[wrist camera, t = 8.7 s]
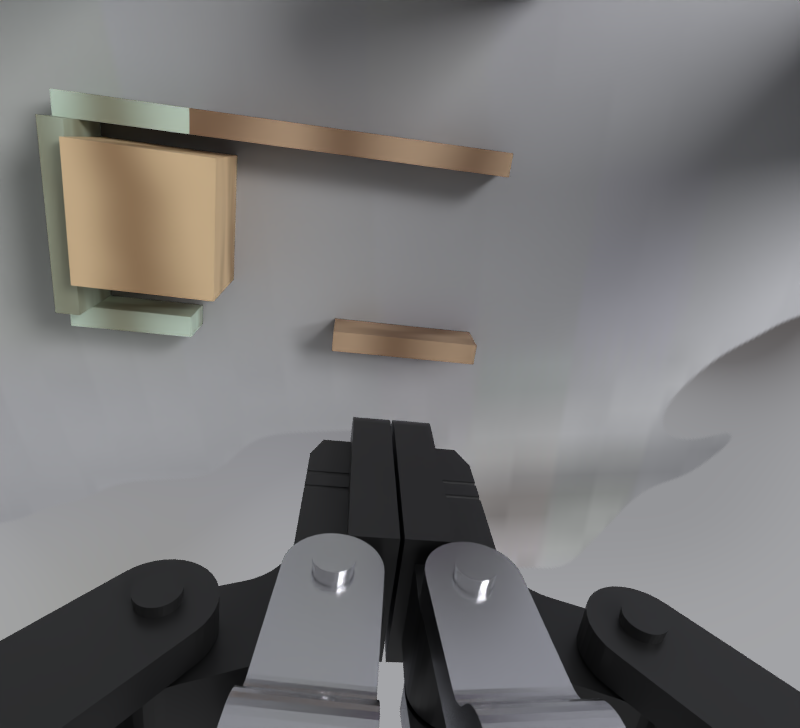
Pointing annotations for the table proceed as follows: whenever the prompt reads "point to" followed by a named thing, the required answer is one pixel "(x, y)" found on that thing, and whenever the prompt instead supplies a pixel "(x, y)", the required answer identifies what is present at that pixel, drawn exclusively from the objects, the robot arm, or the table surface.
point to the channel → (87, 111)
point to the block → (149, 217)
